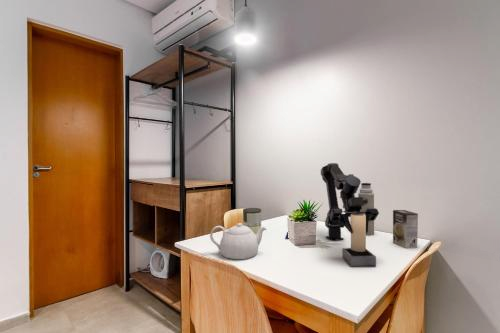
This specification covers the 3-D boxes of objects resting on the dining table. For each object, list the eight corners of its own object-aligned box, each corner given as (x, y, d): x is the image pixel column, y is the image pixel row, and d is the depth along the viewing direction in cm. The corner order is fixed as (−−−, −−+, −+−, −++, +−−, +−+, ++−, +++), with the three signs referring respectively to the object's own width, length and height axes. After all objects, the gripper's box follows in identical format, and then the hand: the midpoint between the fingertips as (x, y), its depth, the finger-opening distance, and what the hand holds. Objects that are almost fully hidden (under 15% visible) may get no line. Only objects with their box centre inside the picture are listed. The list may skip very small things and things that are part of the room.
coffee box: (392, 242, 130) (392, 209, 130) (404, 241, 131) (404, 209, 131) (405, 248, 121) (405, 213, 121) (418, 247, 122) (418, 213, 122)
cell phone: (285, 240, 138) (285, 238, 138) (287, 232, 151) (287, 231, 151) (299, 240, 136) (299, 239, 136) (300, 233, 150) (300, 232, 150)
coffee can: (239, 235, 146) (239, 210, 146) (250, 231, 154) (250, 207, 154) (254, 238, 140) (254, 212, 140) (265, 233, 148) (264, 208, 148)
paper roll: (348, 249, 106) (348, 214, 106) (354, 246, 110) (354, 212, 110) (361, 252, 102) (361, 216, 102) (368, 249, 106) (368, 214, 105)
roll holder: (342, 257, 111) (342, 248, 111) (365, 257, 111) (365, 248, 111) (350, 267, 101) (350, 256, 101) (375, 266, 101) (375, 256, 101)
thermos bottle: (358, 231, 151) (357, 182, 151) (373, 232, 149) (373, 182, 148) (358, 234, 144) (358, 183, 143) (375, 236, 141) (374, 183, 140)
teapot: (240, 244, 131) (239, 216, 131) (267, 253, 118) (267, 222, 118) (209, 254, 118) (208, 223, 118) (236, 265, 105) (236, 231, 105)
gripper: (331, 189, 109) (340, 222, 99) (376, 188, 109) (390, 221, 99) (326, 205, 118) (334, 236, 107) (368, 204, 117) (380, 236, 107)
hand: (359, 232), depth 105 cm, fingers closed on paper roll, 6 cm apart
